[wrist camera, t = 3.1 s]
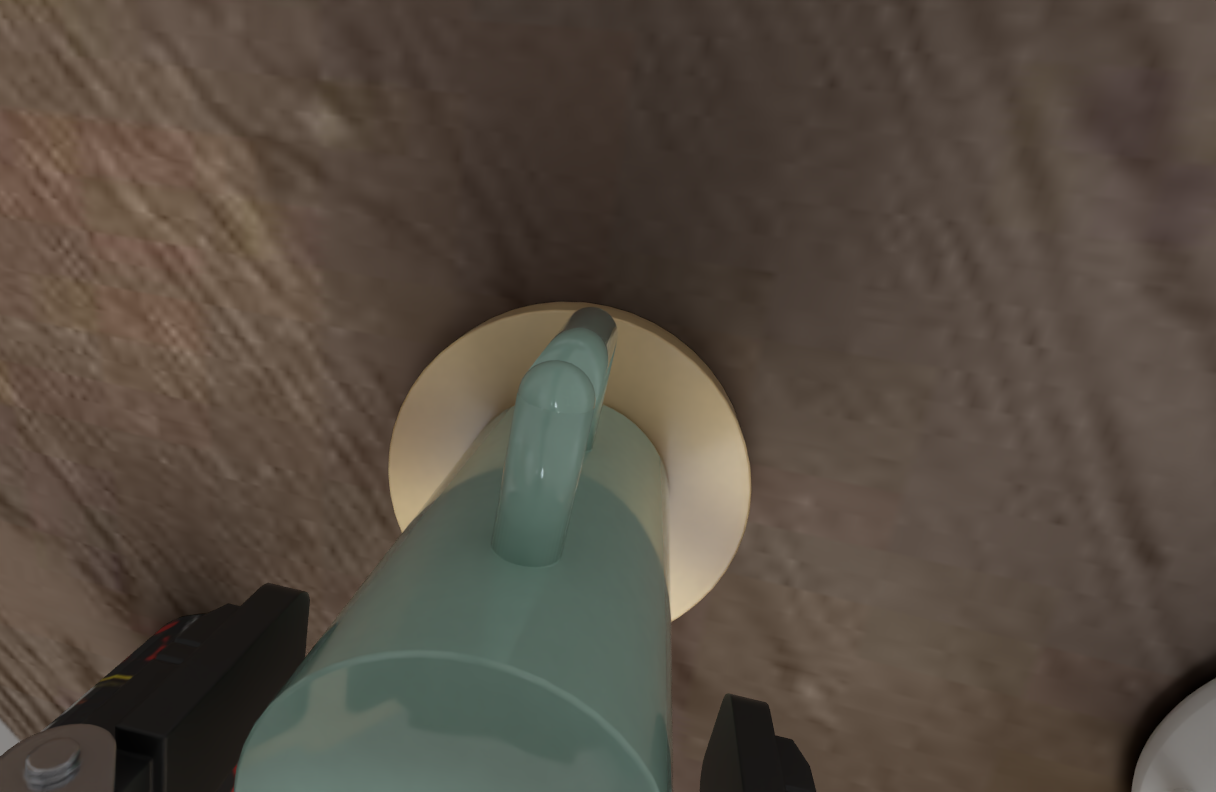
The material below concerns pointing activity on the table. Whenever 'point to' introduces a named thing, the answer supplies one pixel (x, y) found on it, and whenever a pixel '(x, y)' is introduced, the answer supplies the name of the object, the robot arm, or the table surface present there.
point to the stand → (637, 388)
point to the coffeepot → (1182, 748)
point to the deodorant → (126, 672)
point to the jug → (503, 616)
